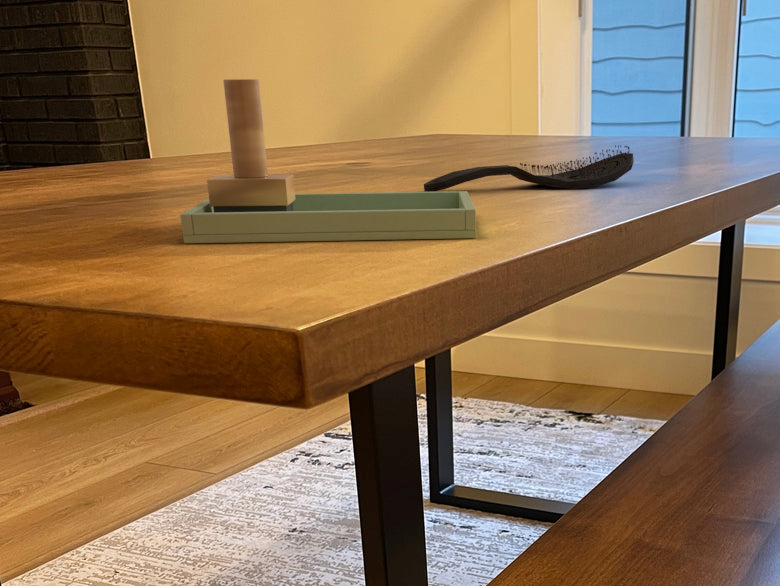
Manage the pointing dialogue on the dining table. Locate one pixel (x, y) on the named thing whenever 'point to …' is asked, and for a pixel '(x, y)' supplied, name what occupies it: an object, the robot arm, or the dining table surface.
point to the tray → (339, 219)
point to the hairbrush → (568, 179)
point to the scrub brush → (248, 158)
